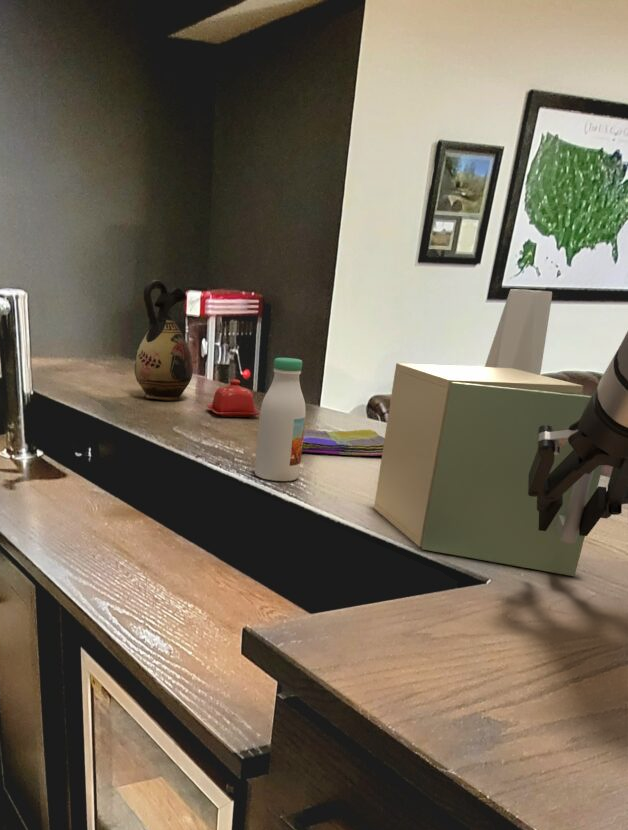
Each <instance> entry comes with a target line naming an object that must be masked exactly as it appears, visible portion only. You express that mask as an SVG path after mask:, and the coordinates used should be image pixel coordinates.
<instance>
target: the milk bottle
mask: <svg viewBox="0 0 628 830" xmlns="http://www.w3.org/2000/svg"><path fill="white" fill-rule="evenodd" d="M302 369H303V360H302V359H299V358H294V357H292V358H291V357H275V358H274V360H273V372H274V373H273V379H272V381H271V384H270V386H269V388H268V390H267V392H266V393H265V395H264V397H263V399H262V403H261V406H260V411H259V412H260V414H259V419H258V428H257V436H256V437H257V438H256V447H255V448H256V449H255V457H254V469H253V471H254V474H255V476H257V478H261V479H263V480H267V481H274V482H291V481H295V480H297V479H298V478H299V475H300V470H301V461H302V453H303V452H302V445H303V436H304V429H305V427H306V412H307V410H306V409H307V408H306V402H305V401H306V400H305V398H304V395H303V392H302V388H301V383H300V375H301V374H302Z"/></svg>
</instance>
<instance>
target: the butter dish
mask: <svg viewBox="0 0 628 830" xmlns="http://www.w3.org/2000/svg"><path fill="white" fill-rule="evenodd" d="M229 383H230V385H226V386H221V387H219V388H217V389H216V390H215V392H214V395H213V399H212V404H206V405H205V406H206V407H207V408H208V409H209V410H211V411H212V412H213V413H214V414H216V415H219V416H220V417H233V418H235V417H236V418H239V417H240V418H251V417H252V416H257V415H260V411H259V410H258V409H256V408H255V402H254V396H253V393H252V391H250V390H249V389H248V388H246V387H242V386H240V384H241V381H240V380H239V379H237V378H233V379H230V380H229Z"/></svg>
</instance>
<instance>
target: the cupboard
mask: <svg viewBox="0 0 628 830" xmlns="http://www.w3.org/2000/svg"><path fill="white" fill-rule="evenodd" d="M452 382H459V383H469V384H478V385H488V386H498V387H508V388H517V389H527V390H537V391H546V392H556V393H566V394H575V395H582V394H583V389H584V385H582V384H579V383H578V384H577V383H574V382H569V381H567V380H562V379H557V378H555V377H550V376H545V375H541V374H540V375H538V374H534V373H530V372H526V371H521V370H517V369H513V368H495V367H485V366H472V365H450V364H449V365H448V364H447V365H446V364H429V363H428V364H426V363H425V364H423V363H405V362H404V363H403V362H396V363H395V370H394V375H393V383H392V389H391V394H390V395H391V396H390V402H389V408H388V414H387V421H386V427H385V433H384V438H385V440H384V446H383V453H382V456H381V460H380V466H379V473H378V478H377V479H378V480H377V485H376V486H377V487H376V492H375V500H374V506H373V509H374V510H375V511H376V512H378V513H379V514H380V515H381V516H382V517H383V518H385V519H386V520H387V521H388V522H389V523H390V524H392V525H393V527H395V528H396V529H398V530H399V531H400V532H401V533H402V534H403V535H405V537H407V538H408V539H409V540H411V541H412V542H413V543H414V544H415V545H417V546H418V547H419V548H422V545H423V540H424V534H425V529H426V523H427V517H428V512H429V506H430V501H431V495H432V490H433V484H434V479H435V473H436V467H437V462H438V456H439V451H440V445H441V440H442V434H443V428H444V423H445V417H446V412H447V406H448V401H449V395H450V390H451V384H452Z"/></svg>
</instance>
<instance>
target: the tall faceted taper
mask: <svg viewBox="0 0 628 830" xmlns="http://www.w3.org/2000/svg"><path fill="white" fill-rule="evenodd" d="M552 298H553V291H550V290H535V289H534V290H532V289H519V288H517V289H516V288H510V290H509V292H508V295H507V298H506V301H505V304H504V307H503V309H502V312H501V315H500V319H499V322H498V325H497V328H496V331H495V334H494V337H493V340H492V343H491V345H490V349H489V352H488V356H487V358H486V361H485V364H484V367H495V368H513V369H517V370H521V371H526V372H530V373H534V374H538V375H541V372H542V367H543V361H544V360H543V359H544V352H545V346H546V341H547V340H546V339H547V333H548V332H547V331H548V325H549V318H550V314H551V313H550V312H551V305H552Z"/></svg>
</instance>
